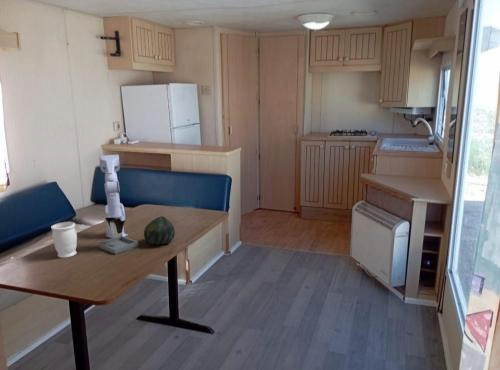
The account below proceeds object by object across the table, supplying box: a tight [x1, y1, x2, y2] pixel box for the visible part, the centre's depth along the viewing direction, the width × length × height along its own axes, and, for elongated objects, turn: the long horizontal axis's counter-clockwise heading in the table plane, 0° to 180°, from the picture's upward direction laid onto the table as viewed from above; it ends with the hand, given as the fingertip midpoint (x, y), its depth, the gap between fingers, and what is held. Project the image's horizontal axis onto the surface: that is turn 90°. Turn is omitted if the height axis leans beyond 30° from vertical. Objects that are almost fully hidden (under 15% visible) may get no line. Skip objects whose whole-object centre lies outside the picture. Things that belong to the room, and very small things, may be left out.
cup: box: [110, 220, 122, 239], centre depth 197 cm, size 5×5×8 cm
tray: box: [97, 236, 139, 255], centre depth 199 cm, size 15×13×2 cm
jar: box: [50, 221, 78, 259], centre depth 190 cm, size 11×10×15 cm
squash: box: [143, 216, 176, 246], centre depth 202 cm, size 14×15×15 cm
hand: (116, 231), depth 197 cm, fingers closed on cup, 5 cm apart
